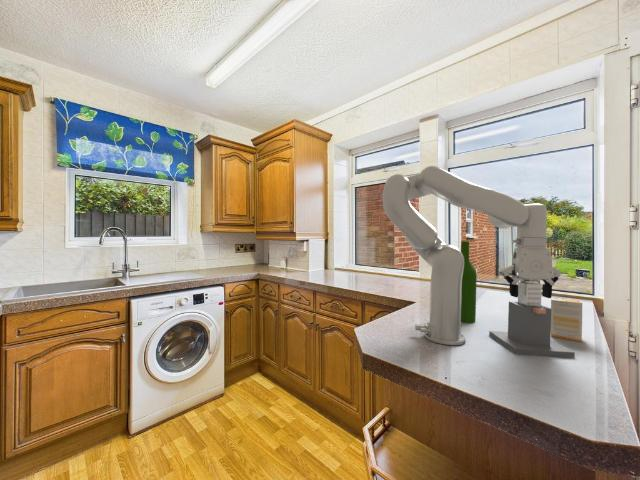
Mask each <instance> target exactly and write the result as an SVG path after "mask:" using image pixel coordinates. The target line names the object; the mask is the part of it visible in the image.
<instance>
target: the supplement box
mask: <svg viewBox="0 0 640 480" xmlns="http://www.w3.org/2000/svg"><path fill="white" fill-rule="evenodd" d="M550 308H551V337H554V338H561V339H566V340H570V341H575V342H576V341H577V342H582V339H583V302H582V300H576V299H568V298H559V297H551V298H550Z"/></svg>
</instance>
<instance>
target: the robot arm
mask: <svg viewBox="0 0 640 480" xmlns="http://www.w3.org/2000/svg"><path fill="white" fill-rule="evenodd" d="M429 195H434V196H435V197H437V198H439V199H441V200H443V201H445V202H447V203H449V204H451V205H453V206H455V207H458V208H461V209H466V210H474V211H477V212H481V213H484V214H486V215H487V221H488V222H489V224H490V225H491V226H494V227H496V228H501V229H503V228H513V227H516V238H515V239H512V243H513V244H515V246H516V247H514V249H513V253H512V257H511V265H509V266H507V267H505V268H503V269H501V270H500V273H501V275H502V277H503V279H505V281H507V283H508V284H509V295H510V296H511V297H513V298H518V282H520V279H528V280H540V281H542V282H543V283H542V293H541V297H543V298H547V299H552V294H553V286H555V283H556V282H557V281H559V278H560V276H561V275H562V271H561V270H559V269H557V268H556V267H553V259H552V254H551V249H550V248H549V247H547V230H548V229H547V222H548V219H547V217H548V212H547V206H546V205H545V204H542V203H527V204H524V203H523V202H521V201H520V200H517V199H515V198H513V197H511V196H509V195H508V194H505V193H503V192H501V191H497V190H495V189H493V188H492V189H491V188H488V187H484V186H482V185H478V184H475V183H472V182H470V181H468V180H466V179H463V178H461V177H459V176H457V175H455V174H453V173H451V172H449V171H447V170H445V169H443V168H441V167H438V166H436V165H429V166H427V167H424V168H423V169H422V170H421V172H420V173H418V174H414V175H412V176H408V177H406V176H405V175H403V174H399V173H396V174H392V175H391V176H390V177H389V178H388V179H387V180H386V181H385V183H384V186H383V190H382V195H381V196H382V197H381V199H382V206H383V210H384V212H385V215H386V216H387V218H388V219H389V221H391V223H392V224H394V226H395V227H396V228H397V229H398V230H399V231H400V232H401V233H402V235H404V236H405V240H406V242H407V244H408V245H409V246H410V247H411V248H412V249H413V251H415V252H416V253H417V254H418V255H419V256H420V257H421V258H422V260H424V262H426V263H427V264H428V265H429V266H430V267H431V273H430V287H429V288H430V289H429V290H430V291H429V292H430V294H429V295H430V297H429V300H430V303H429V321H426V323H425V324H423V325H422V324H415V325H414V330H415V331H420V333H424V337H425V338H426V339H428V341H430V342H434V343H436V344H441V345H445V346H448V345H449V346H460V345H464V344H465V343H466V341H467V340H466V336H464V335H463V334H461V323H462V322H461V289H462V276H463V270H464V257H463V254H462V253H461V249H459V248H458V247H456V246H455V245H453V244H446V243H445V241H444V240H442V239H441V238H440V236H438V235H439V234H438V231H437V229H436V228H435V227H434V226H433V225H432V224H431V223H430V222H429V221H428V220H427V219H426V218H424V216H423V215H421V213H419V212H418V210H416V209H415V207H414V206H413V205H412V203H411V201H410V200H415V199H419V198H422V197H426V196H429ZM510 272H511V276H510V275H509V273H510Z"/></svg>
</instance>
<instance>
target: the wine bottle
mask: <svg viewBox="0 0 640 480" xmlns="http://www.w3.org/2000/svg"><path fill="white" fill-rule="evenodd" d="M460 244H461V245H460V251H461V253H462V254H463V257H464V270H463V276H462V289H461V323H464V324H473V323H476V316H477V315H476V314H477V282H478V281H477V279H478V278H477V270H476V269H475V267H474V265H473V264H472V262H471V260H470V241H468V240H467V241H465V240H461V243H460Z"/></svg>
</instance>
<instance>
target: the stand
mask: <svg viewBox="0 0 640 480" xmlns="http://www.w3.org/2000/svg"><path fill="white" fill-rule="evenodd" d="M507 313H508V314H507V315H508V317H507V320H508V321H507V331H499V330H489V331H488V332H489V333H488V334H489V336H490V337H491V338H492V339H494V340H495V341H496V342H498V343H500V344H501V345H502V346H504V347H505V348H506V349H508V350H509V351H510V352H512V353H513V354H514V355H524V356H525V355H527V356H542V357H558V358H559V357H561V358H575V357H576V356H575V355H576V354H575V353H576V352H575V351H573V350H572V349H569V348H568V347H565V346H563V345H562V344H560V343H558V342H555V341H554V340H552V339H551V338H552V336H551V307H548V306H546V305H542V304H541V307H524V306H522V305H519V304H518V301H511V300H510V301H508V312H507Z"/></svg>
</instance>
